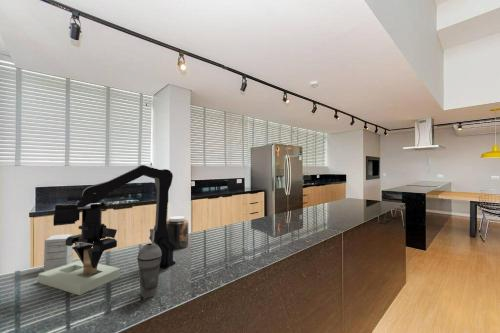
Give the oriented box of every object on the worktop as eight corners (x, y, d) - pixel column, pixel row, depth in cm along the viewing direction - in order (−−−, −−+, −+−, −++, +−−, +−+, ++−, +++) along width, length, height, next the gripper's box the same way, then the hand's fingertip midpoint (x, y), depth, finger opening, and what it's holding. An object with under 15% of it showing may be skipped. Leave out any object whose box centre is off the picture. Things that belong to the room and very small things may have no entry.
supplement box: (51, 266, 93) (52, 235, 93) (73, 263, 96) (74, 233, 96) (42, 273, 86) (44, 239, 86) (66, 270, 89) (67, 237, 89)
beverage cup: (141, 288, 75) (142, 227, 76) (164, 287, 76) (165, 227, 77) (132, 300, 68) (133, 232, 69) (157, 299, 69) (158, 232, 70)
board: (120, 276, 84) (120, 268, 84) (79, 295, 71) (79, 285, 71) (80, 267, 92) (81, 259, 92) (38, 282, 79) (38, 273, 79)
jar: (165, 251, 112) (165, 220, 113) (163, 244, 123) (164, 216, 124) (189, 248, 117) (190, 218, 118) (186, 241, 128) (186, 214, 128)
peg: (100, 271, 81) (100, 248, 81) (88, 276, 77) (88, 252, 77) (92, 269, 82) (92, 247, 83) (80, 274, 79) (80, 250, 79)
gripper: (130, 219, 84) (129, 262, 84) (96, 216, 91) (95, 255, 91) (101, 226, 74) (100, 275, 73) (65, 221, 81) (63, 266, 80)
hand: (90, 266), depth 80 cm, fingers closed on peg, 4 cm apart
